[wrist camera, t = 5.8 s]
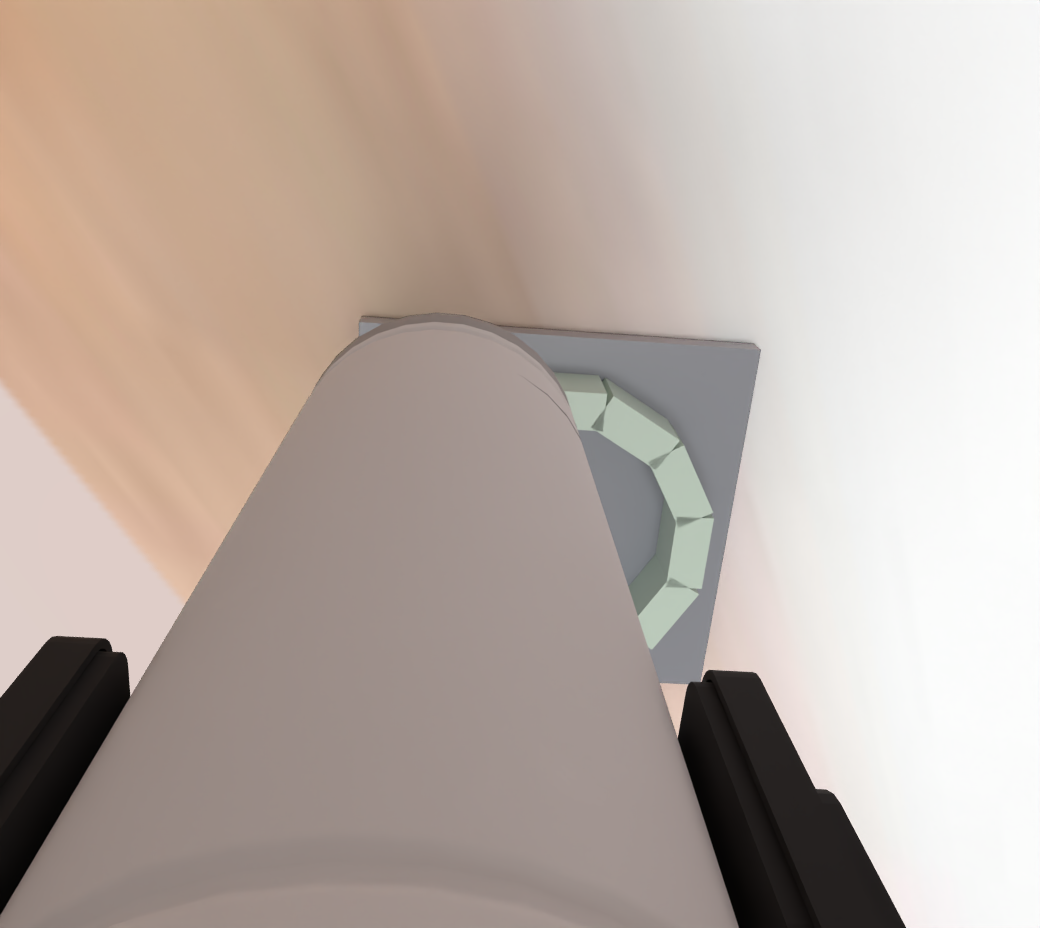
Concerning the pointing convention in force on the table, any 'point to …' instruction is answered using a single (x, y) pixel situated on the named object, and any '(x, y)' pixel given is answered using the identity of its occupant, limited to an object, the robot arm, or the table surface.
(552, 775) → the travel mug
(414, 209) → the table surface
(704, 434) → the cup dock
